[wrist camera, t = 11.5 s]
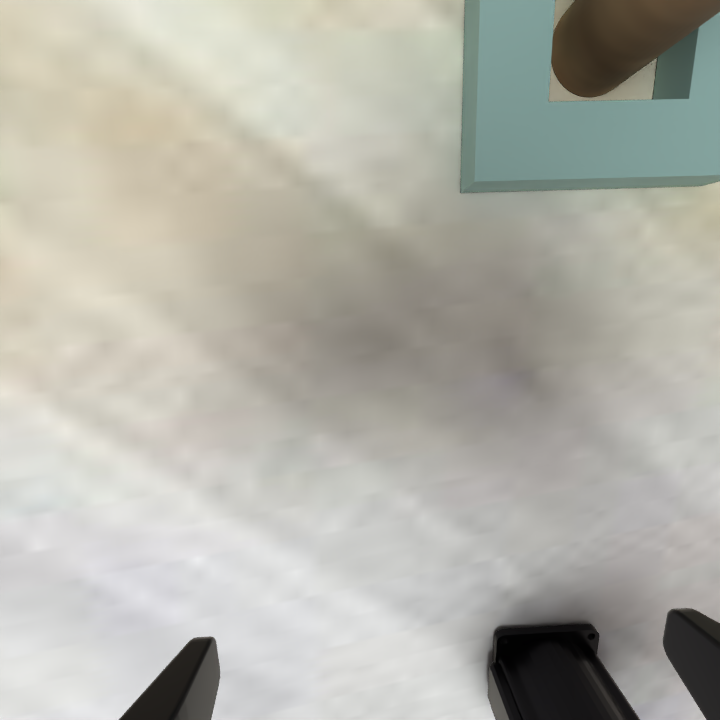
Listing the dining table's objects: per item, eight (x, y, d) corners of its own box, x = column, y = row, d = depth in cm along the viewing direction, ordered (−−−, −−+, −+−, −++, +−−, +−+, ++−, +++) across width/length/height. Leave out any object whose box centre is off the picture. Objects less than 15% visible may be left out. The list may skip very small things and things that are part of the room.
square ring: (748, -119, 15) (806, -177, 14) (701, 186, 18) (745, 174, 16) (467, -118, 15) (485, -177, 13) (460, 192, 18) (474, 181, 16)
